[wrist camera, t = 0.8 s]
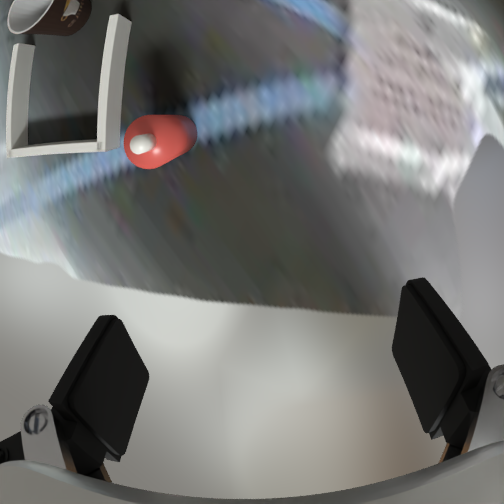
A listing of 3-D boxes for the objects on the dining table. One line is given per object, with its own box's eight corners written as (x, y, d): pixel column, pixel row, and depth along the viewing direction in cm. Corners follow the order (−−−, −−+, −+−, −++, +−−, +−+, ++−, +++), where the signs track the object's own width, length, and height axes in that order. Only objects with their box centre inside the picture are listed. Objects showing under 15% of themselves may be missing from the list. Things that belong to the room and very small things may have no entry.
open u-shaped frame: (30, 47, 25) (13, 45, 22) (131, 21, 26) (118, 13, 22) (23, 153, 33) (6, 158, 29) (119, 147, 33) (105, 151, 30)
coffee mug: (70, 52, 27) (25, 43, 18) (42, 30, 24) (-1, 22, 15) (124, -13, 23) (90, -40, 14) (90, -30, 21) (55, -52, 12)
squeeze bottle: (159, 114, 32) (113, 116, 21) (198, 115, 32) (168, 115, 21) (157, 154, 34) (112, 173, 23) (195, 155, 34) (165, 175, 23)
